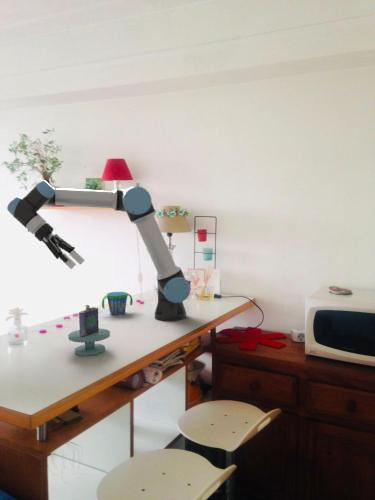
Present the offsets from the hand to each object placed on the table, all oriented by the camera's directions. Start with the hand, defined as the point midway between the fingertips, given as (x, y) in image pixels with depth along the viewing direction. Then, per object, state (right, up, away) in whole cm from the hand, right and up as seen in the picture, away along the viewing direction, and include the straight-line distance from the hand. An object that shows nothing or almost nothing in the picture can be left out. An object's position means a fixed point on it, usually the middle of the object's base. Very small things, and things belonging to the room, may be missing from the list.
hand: (78, 264), depth 183 cm
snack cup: (+10, -26, +40) cm, 48 cm away
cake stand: (+9, -31, -18) cm, 37 cm away
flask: (+9, -25, -19) cm, 33 cm away
